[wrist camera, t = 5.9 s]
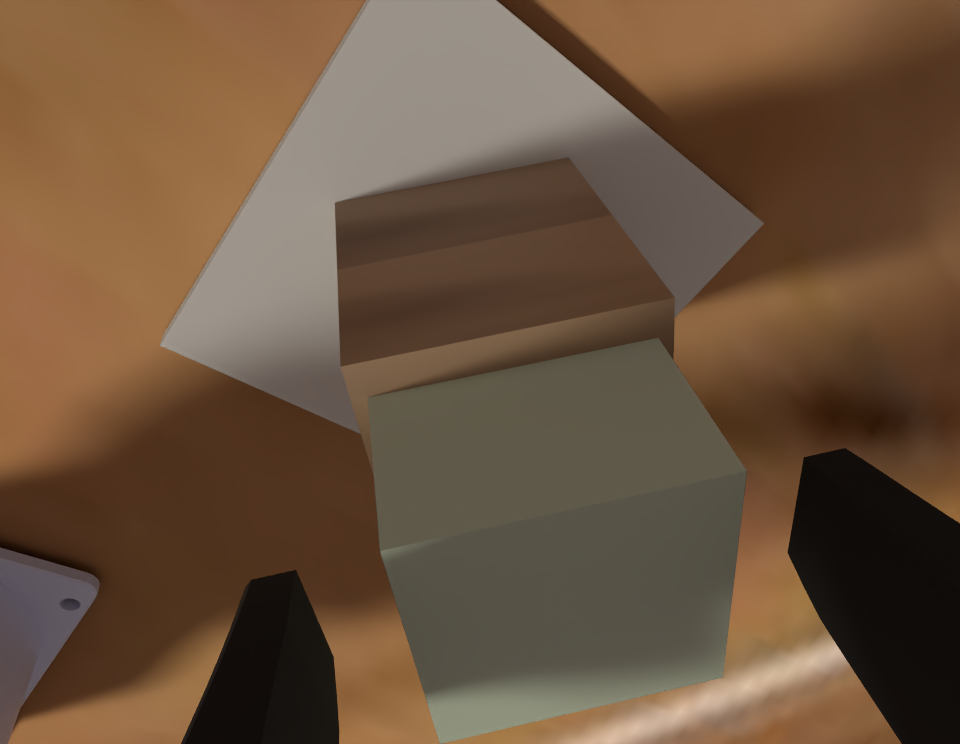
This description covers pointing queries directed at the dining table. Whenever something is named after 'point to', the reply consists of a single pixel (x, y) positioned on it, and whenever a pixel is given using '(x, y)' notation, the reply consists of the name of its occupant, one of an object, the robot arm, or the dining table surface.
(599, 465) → the pale green cube
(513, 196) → the tower base
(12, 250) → the dining table surface
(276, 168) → the felt mat
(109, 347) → the dining table surface
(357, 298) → the tower top
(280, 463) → the dining table surface
